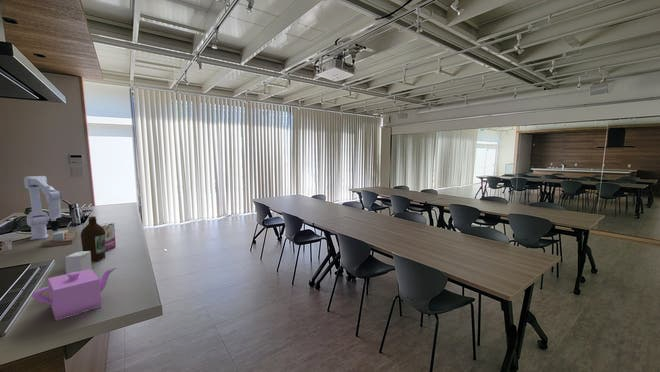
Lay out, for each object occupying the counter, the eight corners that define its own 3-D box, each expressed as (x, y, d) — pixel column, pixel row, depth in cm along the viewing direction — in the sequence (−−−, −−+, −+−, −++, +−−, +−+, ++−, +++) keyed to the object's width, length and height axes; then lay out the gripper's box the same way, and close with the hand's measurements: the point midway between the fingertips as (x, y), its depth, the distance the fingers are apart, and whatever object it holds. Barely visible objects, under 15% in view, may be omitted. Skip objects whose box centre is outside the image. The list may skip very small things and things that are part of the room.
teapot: (123, 300, 114) (121, 268, 112) (35, 327, 94) (32, 289, 93) (113, 288, 123) (111, 259, 122) (32, 311, 104) (29, 276, 103)
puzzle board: (50, 237, 193) (49, 231, 193) (76, 235, 202) (76, 229, 201) (42, 247, 174) (42, 240, 174) (72, 243, 183) (71, 237, 182)
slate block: (54, 241, 183) (53, 232, 183) (64, 240, 186) (64, 231, 186) (52, 243, 179) (52, 234, 179) (63, 241, 182) (62, 233, 182)
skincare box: (81, 288, 123) (79, 256, 121) (66, 289, 122) (63, 257, 120) (93, 280, 131) (91, 250, 130) (78, 281, 130) (76, 250, 128)
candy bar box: (108, 247, 178) (107, 222, 176) (116, 247, 178) (114, 222, 176) (93, 252, 167) (91, 226, 165) (101, 253, 167) (99, 227, 165)
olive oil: (77, 262, 151) (74, 218, 149) (92, 255, 162) (90, 214, 159) (96, 263, 151) (94, 219, 149) (111, 256, 162) (109, 215, 160)
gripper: (48, 208, 184) (49, 227, 185) (43, 211, 172) (45, 232, 174) (62, 207, 188) (64, 226, 189) (59, 210, 177) (60, 231, 178)
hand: (56, 229), depth 182 cm, fingers open, 7 cm apart
